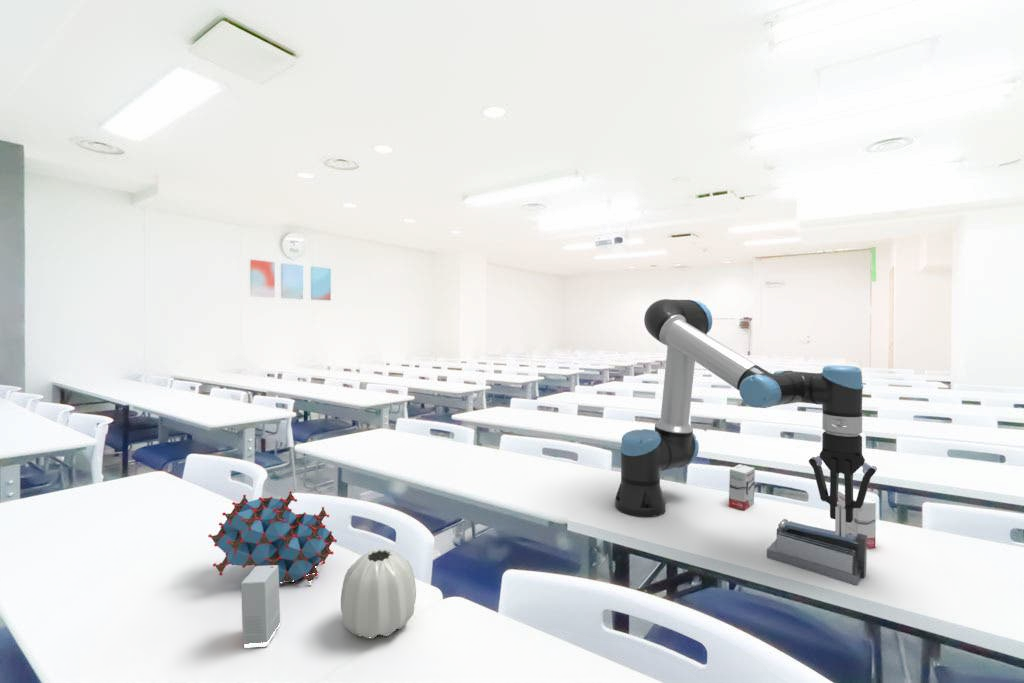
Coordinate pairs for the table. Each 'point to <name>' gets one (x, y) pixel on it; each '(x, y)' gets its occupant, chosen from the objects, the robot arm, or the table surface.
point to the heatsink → (821, 554)
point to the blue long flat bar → (814, 530)
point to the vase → (378, 594)
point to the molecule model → (274, 538)
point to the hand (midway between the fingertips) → (841, 534)
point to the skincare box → (260, 604)
